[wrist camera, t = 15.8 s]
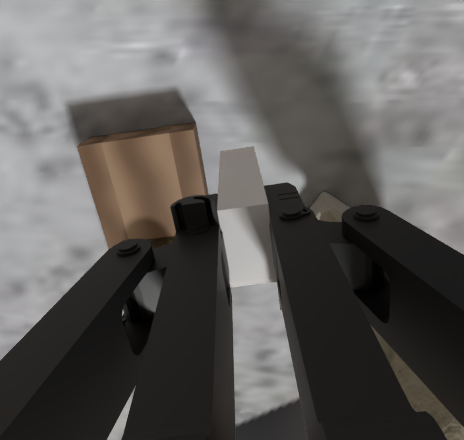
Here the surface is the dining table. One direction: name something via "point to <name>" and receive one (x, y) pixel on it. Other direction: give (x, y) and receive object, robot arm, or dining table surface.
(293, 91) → the dining table surface
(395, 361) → the sculpture
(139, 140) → the block
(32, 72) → the dining table surface
